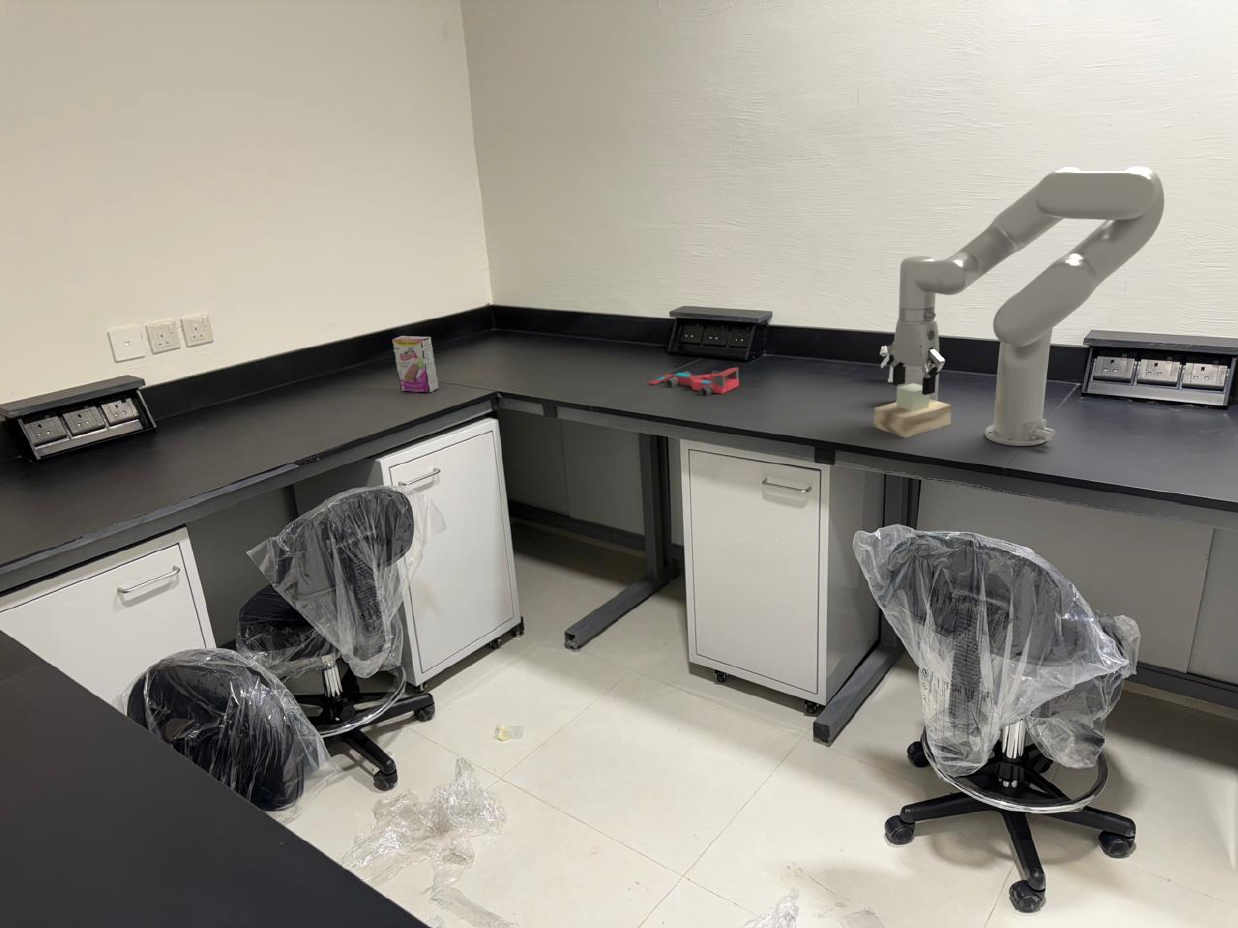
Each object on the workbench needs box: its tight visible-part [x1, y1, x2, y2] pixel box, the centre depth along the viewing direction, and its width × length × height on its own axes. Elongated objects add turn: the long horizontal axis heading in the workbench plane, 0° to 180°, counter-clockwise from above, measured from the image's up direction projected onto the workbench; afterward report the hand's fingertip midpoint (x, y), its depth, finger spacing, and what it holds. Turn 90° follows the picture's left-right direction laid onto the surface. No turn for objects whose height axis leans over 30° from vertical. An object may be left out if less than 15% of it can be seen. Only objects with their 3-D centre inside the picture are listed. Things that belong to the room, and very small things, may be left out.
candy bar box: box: [391, 335, 440, 392], centre depth 263 cm, size 11×5×16 cm, turn 65°
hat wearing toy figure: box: [879, 341, 894, 383], centre depth 234 cm, size 9×4×12 cm, turn 54°
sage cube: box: [896, 383, 929, 411], centre depth 200 cm, size 5×5×4 cm
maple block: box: [872, 399, 952, 438], centre depth 202 cm, size 10×14×5 cm
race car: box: [648, 366, 740, 396], centre depth 247 cm, size 14×6×25 cm
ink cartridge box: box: [895, 363, 940, 402], centre depth 215 cm, size 10×6×14 cm, turn 78°
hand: (913, 388), depth 199 cm, fingers open, 9 cm apart
